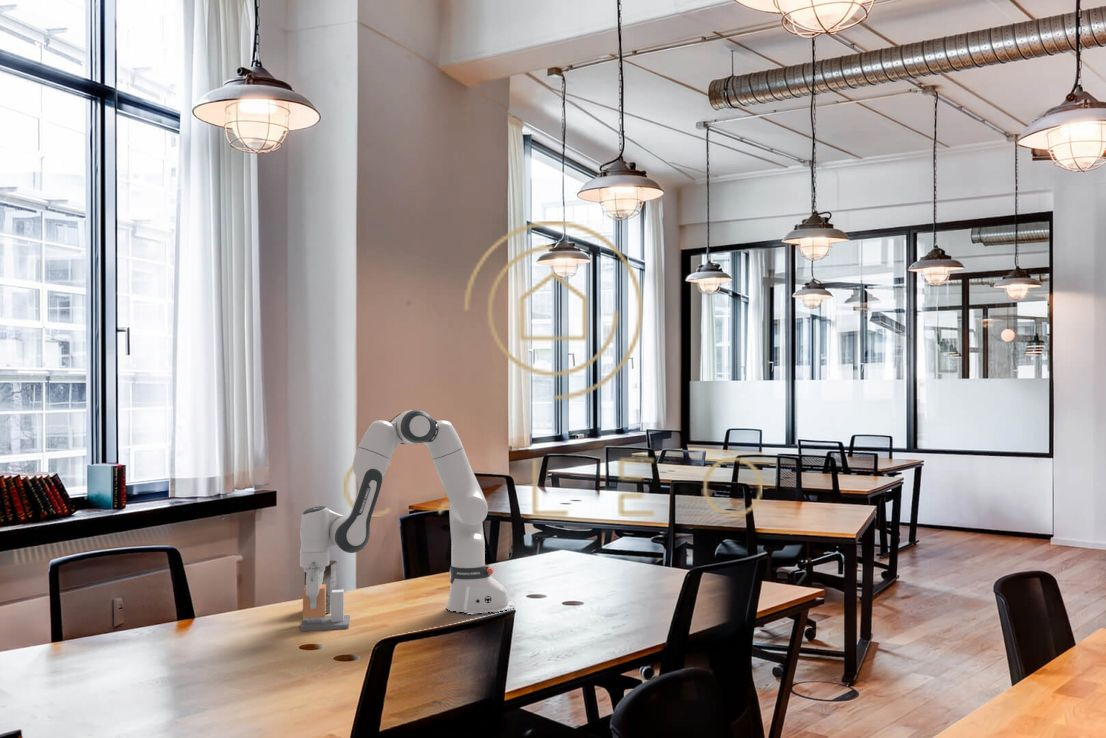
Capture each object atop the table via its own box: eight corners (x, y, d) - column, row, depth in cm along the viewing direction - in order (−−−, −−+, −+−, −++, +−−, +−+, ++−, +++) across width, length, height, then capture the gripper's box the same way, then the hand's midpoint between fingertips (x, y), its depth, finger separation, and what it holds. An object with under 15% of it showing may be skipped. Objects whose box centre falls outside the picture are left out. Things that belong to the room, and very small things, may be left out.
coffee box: (302, 612, 291) (303, 563, 292) (310, 608, 298) (310, 559, 298) (330, 613, 290) (330, 563, 291) (337, 608, 297) (337, 560, 297)
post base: (349, 618, 283) (350, 586, 283) (348, 628, 271) (348, 594, 272) (304, 620, 281) (304, 588, 281) (300, 630, 269) (300, 596, 269)
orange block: (325, 612, 279) (326, 584, 279) (324, 617, 273) (324, 588, 273) (304, 613, 278) (304, 584, 278) (302, 618, 272) (302, 589, 272)
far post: (320, 623, 277) (320, 590, 278) (319, 626, 274) (320, 592, 274) (308, 624, 277) (308, 590, 277) (307, 626, 273) (307, 593, 274)
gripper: (322, 565, 266) (322, 612, 266) (327, 553, 286) (327, 597, 286) (301, 566, 265) (300, 613, 265) (306, 554, 285) (306, 598, 285)
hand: (314, 605), depth 276 cm, fingers closed on orange block, 6 cm apart
